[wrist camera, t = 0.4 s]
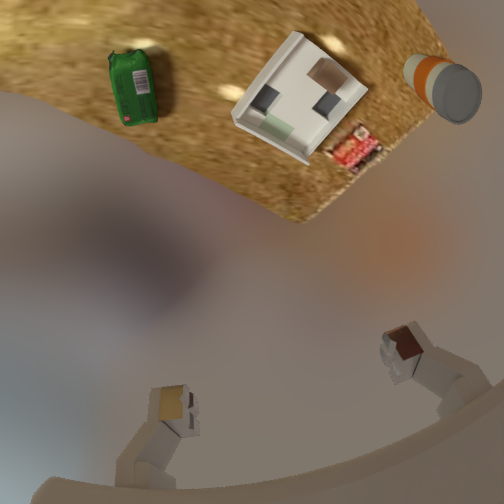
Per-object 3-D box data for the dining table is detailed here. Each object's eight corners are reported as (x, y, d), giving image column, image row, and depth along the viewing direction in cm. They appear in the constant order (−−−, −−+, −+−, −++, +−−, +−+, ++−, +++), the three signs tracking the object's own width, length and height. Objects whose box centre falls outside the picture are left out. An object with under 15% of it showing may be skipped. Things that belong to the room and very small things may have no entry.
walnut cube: (320, 57, 43) (330, 62, 40) (338, 71, 45) (348, 77, 42) (306, 74, 45) (314, 81, 42) (323, 87, 47) (333, 95, 45)
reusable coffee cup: (389, 85, 50) (431, 115, 40) (406, 37, 41) (455, 58, 31) (427, 101, 53) (467, 132, 43) (444, 59, 44) (489, 84, 34)
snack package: (150, 42, 38) (145, 45, 34) (162, 117, 50) (159, 128, 46) (111, 51, 37) (103, 56, 34) (127, 124, 49) (121, 136, 46)
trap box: (293, 30, 40) (305, 34, 36) (357, 82, 49) (373, 92, 45) (230, 112, 51) (235, 125, 47) (298, 149, 60) (308, 165, 56)
